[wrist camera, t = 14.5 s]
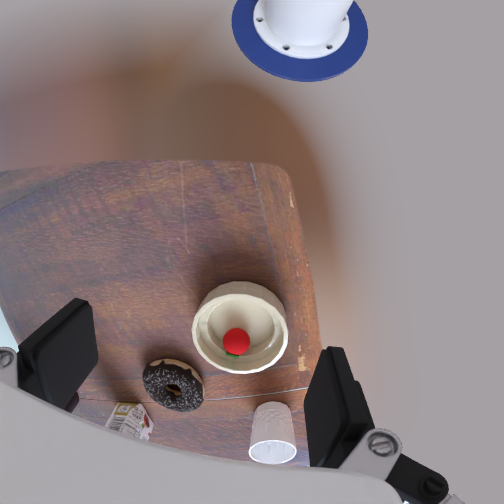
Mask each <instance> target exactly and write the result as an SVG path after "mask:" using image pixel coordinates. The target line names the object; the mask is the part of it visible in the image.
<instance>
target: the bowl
mask: <svg viewBox="0 0 504 504" xmlns="http://www.w3.org/2000/svg"><path fill="white" fill-rule="evenodd" d="M233 328H240V329H242V330H244V331H245V332H247V334H248V335H249V337H250V346H249V348H248V349H247V351H246V352H244V353H243V354H240V355H239V358H233V357H230V356H227V355H226V351H227V350H226V349H225V348H224V345H223V337H224V335H225V334H226V332H227V331H229V330H230V329H233ZM192 336H193V342H194V344H195V346H196V348H197V350H198V352H199V353H200V354H201V355H202V356H203V357H204V358H205V359H206V360H207V362H209V363H210V364H212V365H214V366H215V367H217V368H219V369H221V370H224V371H228V372H231V373H242V374H247V373H248V374H249V373H253V372H258V371H262V370H264V369H266V368H268V367H270V366H271V365H273V364H274V363H275V362H276V361H277V360H278V359H279V358H280V357H281V356H282V355H283V353H284V351H285V348H286V346H287V344H288V325H287V316H286V313H285V310H284V307H283V305H282V303H281V302H280V301H279V299H278V298H277V297H276V295H274V294H273V293H272V292H271V291H269V290H268V289H266V288H265V287H263V286H261V285H257V284H254V283H251V282H237V281H234V282H230V283H226V284H223V285H220V286H218V287H216V288H215V289H213V290H212V291H211V292H209V293H208V294H207V296H206V297H205V298H204V300H203V301H202V302H201V304H200V306H199V309H198V311H197V313H196V315H195V318H194V321H193V325H192Z"/></svg>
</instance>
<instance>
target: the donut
mask: <svg viewBox="0 0 504 504" xmlns="http://www.w3.org/2000/svg"><path fill="white" fill-rule="evenodd" d="M143 383H144V387H145V390H146V392H147V393H148V394H149V395H150V397H151V398H152V399H153V400H154V401H156V402H157V403H159V404H160V405H162V406H164V407H166V408H167V409H170V410H173V411H174V410H175V411H179V412H189V411H194V410H196V409H197V408H198V407H199V406H200V405H201V404H202V403H203V400H204V399H203V398H204V395H205V390H204V385H203V382H202V380H201V378H200V377H199V375H198V373H197V372H196V371H195V370H194V369H193V368H192V367H190V366H189V365H188V364H186V363H184V362H181V361H178V360H174V359H162V360H157V361H154V362H152V363H151V364H150V363H148V364H147V365H146V368H145V370H144V372H143ZM168 384H176V385H178V386H179V388H180V390H181V391H176V390H172V389H170V388H169V387H168V386H167V385H168Z"/></svg>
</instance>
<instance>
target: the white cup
mask: <svg viewBox="0 0 504 504" xmlns="http://www.w3.org/2000/svg"><path fill="white" fill-rule="evenodd" d="M249 455H250V457H251V458H252V459H254V460H256V461H258V462H261V463H266V464H278V463H283V462H286V461H288V460H290V459H292V458H293V457H294V456H295V455H296V443H295V435H294V429H293V422H292V419H291V411H290V409H289V407H288V406H287V405H285V404H283V403H281V402H274V401H271V402H266V403H263V404H261V405H259V406H258V407H257V409H256V410H255V415H254V421H253V426H252V431H251V439H250V446H249Z"/></svg>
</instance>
